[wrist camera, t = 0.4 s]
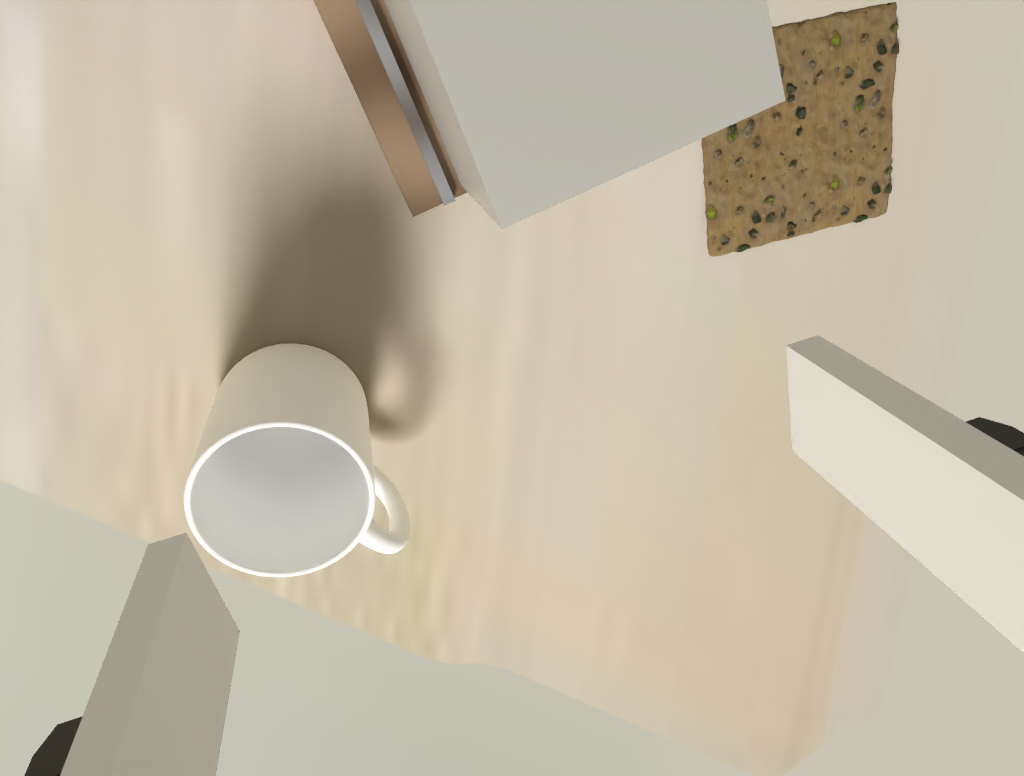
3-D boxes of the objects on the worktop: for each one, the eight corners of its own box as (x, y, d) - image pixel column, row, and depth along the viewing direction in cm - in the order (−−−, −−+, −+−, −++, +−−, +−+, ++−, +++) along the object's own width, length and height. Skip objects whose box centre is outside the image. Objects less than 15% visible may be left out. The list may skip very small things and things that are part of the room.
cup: (277, 309, 40) (260, 385, 31) (443, 429, 45) (470, 524, 36) (185, 418, 41) (143, 522, 32) (356, 522, 46) (362, 636, 37)
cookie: (894, -4, 40) (906, -5, 39) (882, 213, 46) (893, 216, 45) (691, 39, 39) (699, 39, 38) (704, 258, 44) (712, 262, 43)
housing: (373, -24, 33) (388, -53, 24) (619, -133, 33) (728, -203, 24) (461, 185, 37) (501, 229, 28) (676, 88, 38) (785, 100, 29)
